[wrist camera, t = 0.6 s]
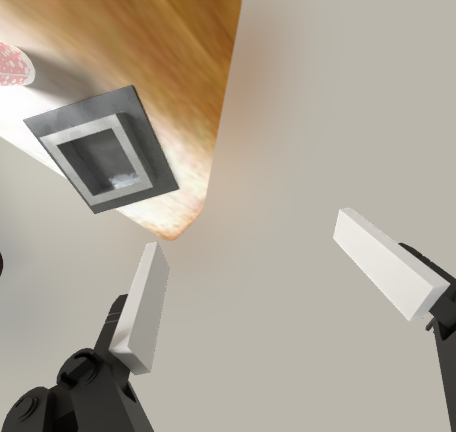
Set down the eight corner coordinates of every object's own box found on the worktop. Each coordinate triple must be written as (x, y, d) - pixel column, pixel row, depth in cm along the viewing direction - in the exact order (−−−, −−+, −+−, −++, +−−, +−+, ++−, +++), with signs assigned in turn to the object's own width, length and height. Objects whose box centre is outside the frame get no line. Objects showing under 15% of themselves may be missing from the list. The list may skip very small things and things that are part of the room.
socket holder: (27, 119, 31) (2, 122, 27) (133, 85, 30) (123, 83, 26) (96, 211, 40) (85, 223, 36) (178, 187, 40) (175, 196, 36)
